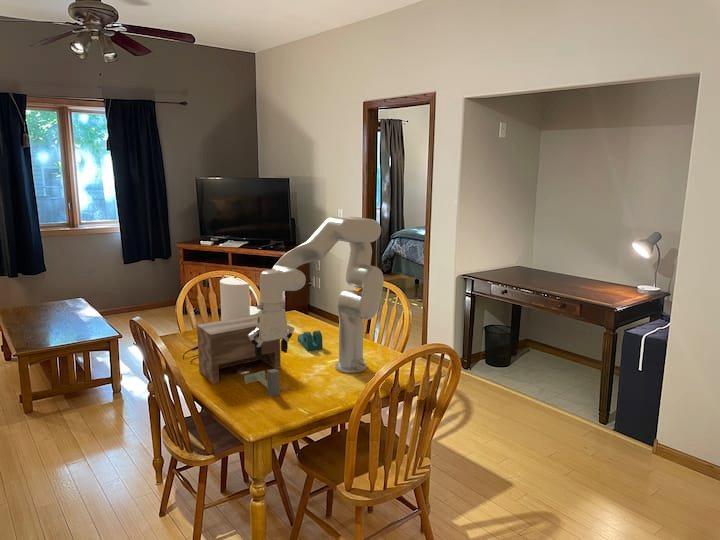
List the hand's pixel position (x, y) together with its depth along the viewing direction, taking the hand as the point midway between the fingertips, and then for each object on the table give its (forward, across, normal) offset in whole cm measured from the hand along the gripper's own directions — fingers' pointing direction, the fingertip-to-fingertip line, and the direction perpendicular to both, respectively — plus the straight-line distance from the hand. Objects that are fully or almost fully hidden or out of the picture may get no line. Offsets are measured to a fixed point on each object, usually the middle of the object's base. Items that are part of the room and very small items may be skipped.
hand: (271, 354), depth 187 cm
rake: (+15, +1, +7) cm, 17 cm away
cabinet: (+15, +1, +28) cm, 32 cm away
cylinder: (+15, +16, +60) cm, 64 cm away
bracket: (+15, +38, +38) cm, 56 cm away
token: (+16, +1, +25) cm, 30 cm away
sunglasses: (+16, -8, +50) cm, 53 cm away
